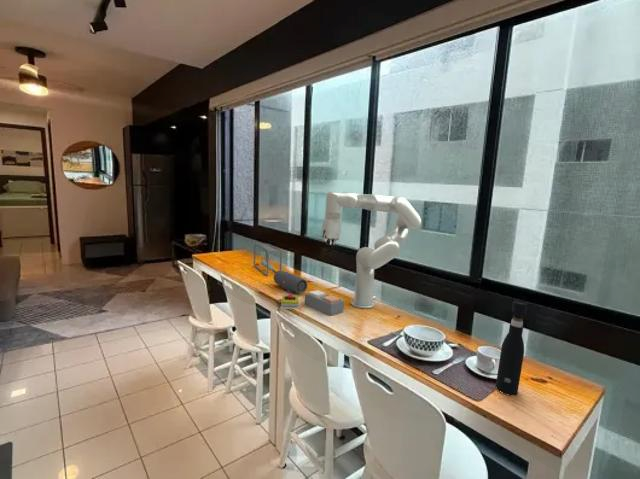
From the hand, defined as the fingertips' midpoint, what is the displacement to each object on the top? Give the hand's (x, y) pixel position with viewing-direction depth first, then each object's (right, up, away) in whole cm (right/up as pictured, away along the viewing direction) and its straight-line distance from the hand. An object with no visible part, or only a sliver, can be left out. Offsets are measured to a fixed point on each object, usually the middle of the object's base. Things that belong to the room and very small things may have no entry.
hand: (330, 251), depth 178 cm
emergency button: (-21, -28, +4) cm, 35 cm away
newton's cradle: (-43, -16, +69) cm, 83 cm away
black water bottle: (+56, -43, -65) cm, 96 cm away
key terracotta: (0, -28, -4) cm, 28 cm away
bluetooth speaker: (-23, -24, +28) cm, 43 cm away
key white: (-7, -26, +3) cm, 27 cm away
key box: (-3, -29, 0) cm, 29 cm away
